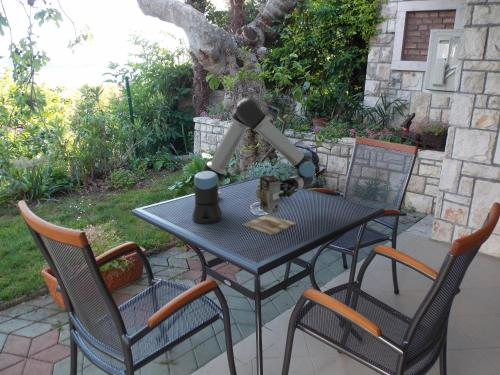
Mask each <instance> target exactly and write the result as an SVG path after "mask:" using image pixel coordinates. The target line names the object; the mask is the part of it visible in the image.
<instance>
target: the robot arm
mask: <svg viewBox="0 0 500 375" xmlns="http://www.w3.org/2000/svg"><path fill="white" fill-rule="evenodd" d="M230 119H231V123H230V125H229V127H228V129H227V130H226V133H225V135H224V136H223V138H222V140H221V141H220V143H219V146H218V147H217V149H216V151H215V153H214V155H213V156H212V159H211V160H210V161H208V162H206V164H205V165H204V167H203V169H202V171H199V172H197V173H196V174H195V175H194V177H193V184H194V185H193V186H194V201H195V202H194V209H193V213H192V219H191V220H192V221H193V222H194V223H196V224H202V225H208V224H215V223H219V222H221V221H222V220H223V212H222V210H221V207H220V202H219V197H218V191H219V189H220V187H221V184H222V182H223V180H224V178H225V177H226V175H227V170H226V169H227V167H228V166H229V164H230V162H231V159H232V158H233V156H234V155H235V153H236V151H237V149H238V147H239V145H240V143H241V141H242V140H243V138H244V137H245V135H246V132H247V130H250V129H251V131H256V132H257V133H258V134H259V135H260V136H261V137H262V138H263V139H265V140H266V142H268V144H270V145H271V146H272V147H273V149H275V150H276V151H277V152H278V153H279V154H280V155H281V156H283V158H284V159H286V161H287V162H288V163H290V164H291V165H292V166H293V167H294V168H295V169H296V175H293V176H290V177H288V178H286V179H284V180H283V181H282V182H280V192H277V193H274V194H273V200H275V199H278V198H280V199H281V198H282V197H285V198H286V197H287V198H290V197H291V196H292V195H293V194H295V193H297V192H298V191H300V190H302V189H303V190H304V189H305V188H308V187H310V186H312V185H313V184H315V180H316V177H315V174H314V173H315V172H316V166H315V163H314V162H313V156H312V155H313V154H312V151H310V150H307V149H306V150H305V149H302V150H300V149H299V148H298V147H297V146H296V145H295V144H294V143H293V142H292V141H291V140H290V139H289V138H287V137H286V136H285V134H284V133H282V132H281V131H280V130H279V129H278V128H277V127H276V126H275V125H274V124H273V123H272V122H271V121H270V120H269V119H268V115H267V114H266V113H265V112H264V111H263V109H262V108H261V104H260V101H259V100H258V99H257V98H255V97H253V96H244V97H242V98H241V99H240V100H239V101H238V102H237V104H236V107H235V109H234V111H233V113H232V115H231V117H230ZM258 194H260V188H258V189H257V188H254V195H255V196H257V195H258Z"/></svg>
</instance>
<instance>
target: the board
mask: <svg viewBox="0 0 500 375" xmlns="http://www.w3.org/2000/svg"><path fill="white" fill-rule="evenodd" d="M295 225H296V222H293V221H290V220H287V219H284V218H281V217H280V218H279V217H276V216H274V215H273V216H272V215H271V214H264V215H262V216H260V217H257V218H254V219H252V220H250V221H247V222H244V223H242V226H243V227H246V228H249V229H252V230H254V231H258V232H260V233H263V234H267V235H269V236H274V235H276V234H279V233H280V232H283V231H285V230H287V229H289V228H291V227H293V226H295Z"/></svg>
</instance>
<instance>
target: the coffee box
mask: <svg viewBox="0 0 500 375" xmlns="http://www.w3.org/2000/svg"><path fill="white" fill-rule="evenodd" d="M259 180H260V197H259V200H260V202H259V203H260V205H259V206H260V209H261V210H262V211H264V212H265V213H266V214H267V215H271V214H278V213H280V212H281V208H280V207H281V204H280V203H281V197H280V198H278V199H275V200H273V194H274V193H277V192H280V183H281V179H279V178H277V177H275V176H273V175H264V176H259Z"/></svg>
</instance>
